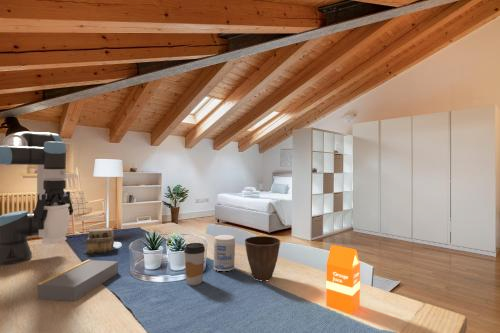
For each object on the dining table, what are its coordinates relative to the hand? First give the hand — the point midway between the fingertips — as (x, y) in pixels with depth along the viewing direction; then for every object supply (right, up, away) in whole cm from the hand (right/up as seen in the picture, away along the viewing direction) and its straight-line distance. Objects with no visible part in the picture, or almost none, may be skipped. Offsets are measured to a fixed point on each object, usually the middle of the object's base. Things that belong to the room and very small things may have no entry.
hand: (54, 233), depth 114 cm
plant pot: (+85, -20, +4) cm, 87 cm away
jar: (0, -3, 0) cm, 3 cm away
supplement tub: (+68, -20, +14) cm, 72 cm away
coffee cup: (+57, -20, -1) cm, 61 cm away
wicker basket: (-4, -19, +41) cm, 45 cm away
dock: (+14, -19, -4) cm, 24 cm away
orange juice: (+112, -20, -19) cm, 115 cm away
